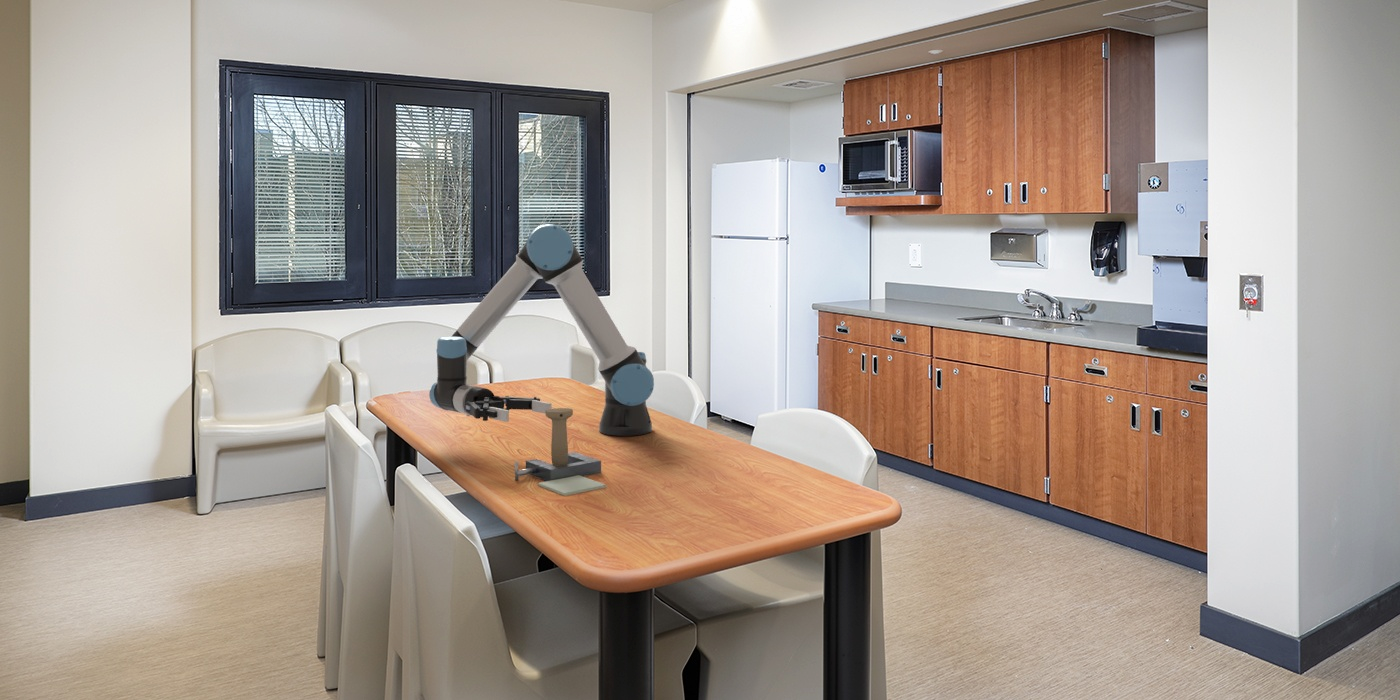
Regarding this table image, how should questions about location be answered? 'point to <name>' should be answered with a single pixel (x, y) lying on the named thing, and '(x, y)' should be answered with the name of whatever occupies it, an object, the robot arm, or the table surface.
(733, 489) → the table surface
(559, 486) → the mat
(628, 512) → the table surface
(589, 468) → the vise
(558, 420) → the handle
